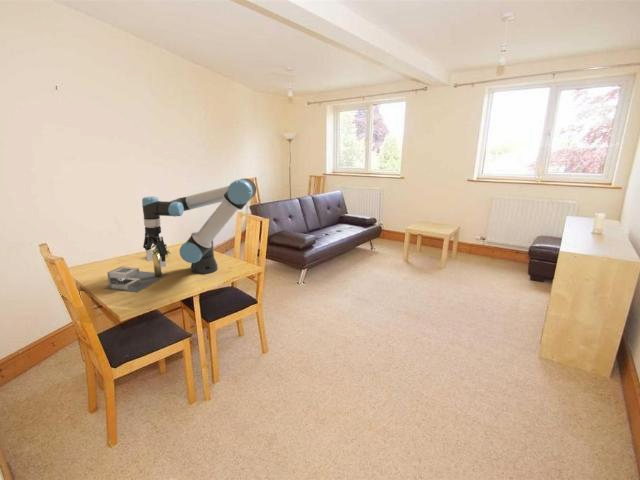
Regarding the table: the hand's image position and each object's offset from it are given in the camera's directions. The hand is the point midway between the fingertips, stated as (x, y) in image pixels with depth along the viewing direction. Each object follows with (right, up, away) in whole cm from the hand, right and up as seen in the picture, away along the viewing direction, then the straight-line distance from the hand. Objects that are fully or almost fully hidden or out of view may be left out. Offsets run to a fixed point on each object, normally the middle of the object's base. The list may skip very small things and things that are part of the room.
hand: (156, 263), depth 170 cm
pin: (0, -7, +2) cm, 7 cm away
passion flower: (-15, +2, +36) cm, 39 cm away
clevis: (-9, -11, -11) cm, 18 cm away
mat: (-7, -9, -5) cm, 13 cm away
